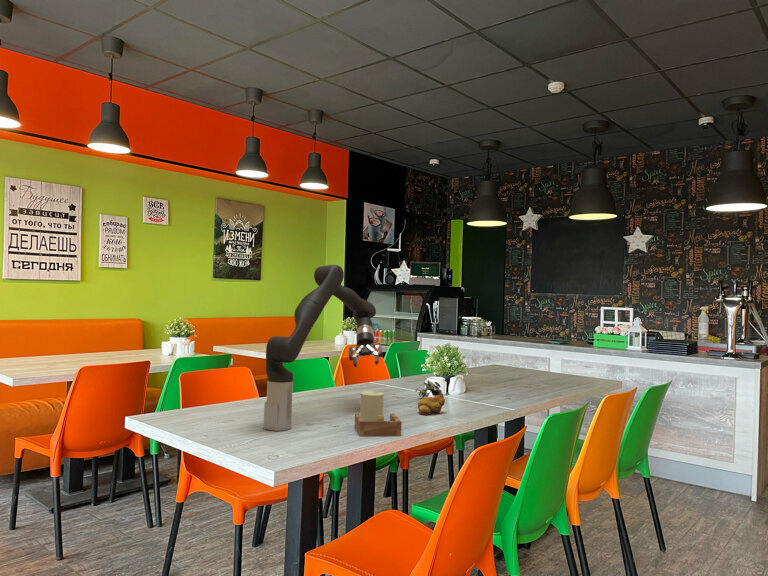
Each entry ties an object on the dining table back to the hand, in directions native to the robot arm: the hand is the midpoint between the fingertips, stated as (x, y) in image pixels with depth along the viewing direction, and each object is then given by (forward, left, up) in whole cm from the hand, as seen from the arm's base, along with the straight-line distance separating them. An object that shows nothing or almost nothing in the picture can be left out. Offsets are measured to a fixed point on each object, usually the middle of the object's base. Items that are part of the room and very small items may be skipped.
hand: (365, 364), depth 228 cm
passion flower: (+51, -5, -21) cm, 55 cm away
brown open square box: (-18, -18, -21) cm, 33 cm away
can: (-8, -9, -21) cm, 24 cm away
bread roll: (+24, -18, -21) cm, 36 cm away
